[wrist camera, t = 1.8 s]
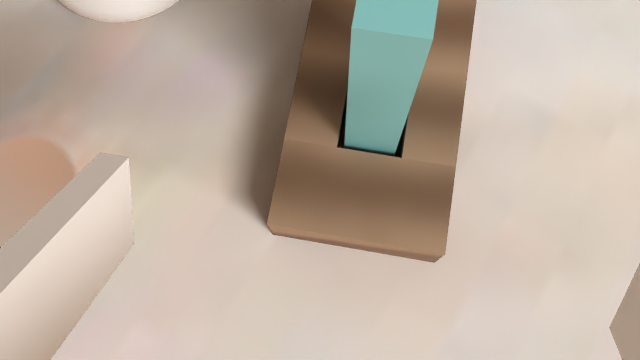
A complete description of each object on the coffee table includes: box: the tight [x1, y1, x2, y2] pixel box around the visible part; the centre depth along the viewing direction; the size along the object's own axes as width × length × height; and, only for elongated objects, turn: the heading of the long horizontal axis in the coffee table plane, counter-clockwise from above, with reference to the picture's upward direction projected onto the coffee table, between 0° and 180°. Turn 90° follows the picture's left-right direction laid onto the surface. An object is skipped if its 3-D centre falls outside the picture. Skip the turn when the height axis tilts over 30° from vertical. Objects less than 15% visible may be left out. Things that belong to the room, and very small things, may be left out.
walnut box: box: [267, 0, 476, 262], centre depth 36 cm, size 16×10×4 cm, turn 170°
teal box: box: [344, 0, 439, 157], centre depth 30 cm, size 5×3×16 cm, turn 170°
